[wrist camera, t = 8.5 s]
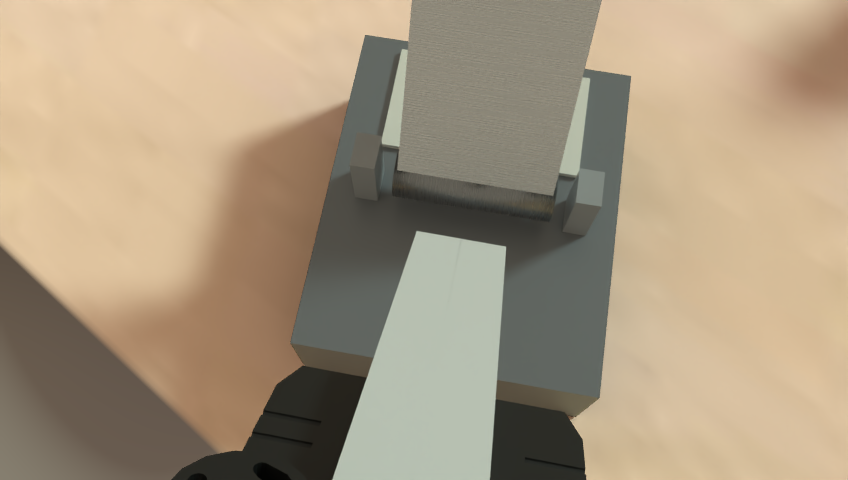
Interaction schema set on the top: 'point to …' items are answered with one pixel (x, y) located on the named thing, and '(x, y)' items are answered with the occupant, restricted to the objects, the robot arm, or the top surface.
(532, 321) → the switch box
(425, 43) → the lever
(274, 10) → the top surface
